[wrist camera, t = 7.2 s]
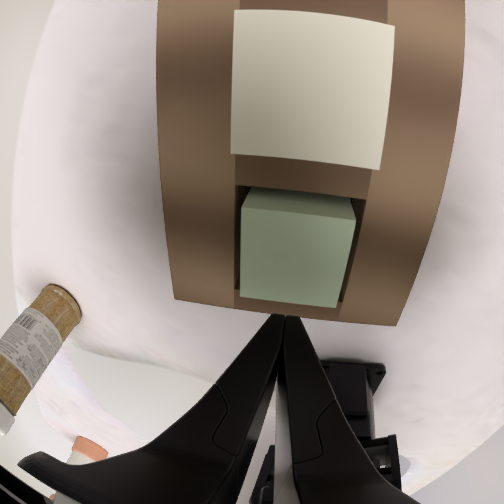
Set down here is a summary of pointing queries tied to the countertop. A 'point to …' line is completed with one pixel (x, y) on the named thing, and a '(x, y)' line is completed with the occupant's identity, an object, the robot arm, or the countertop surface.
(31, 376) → the sprinkles bottle
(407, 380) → the countertop surface
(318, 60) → the cream key
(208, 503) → the robot arm
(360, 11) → the wooden tray
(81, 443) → the pepper shaker
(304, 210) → the sage key
